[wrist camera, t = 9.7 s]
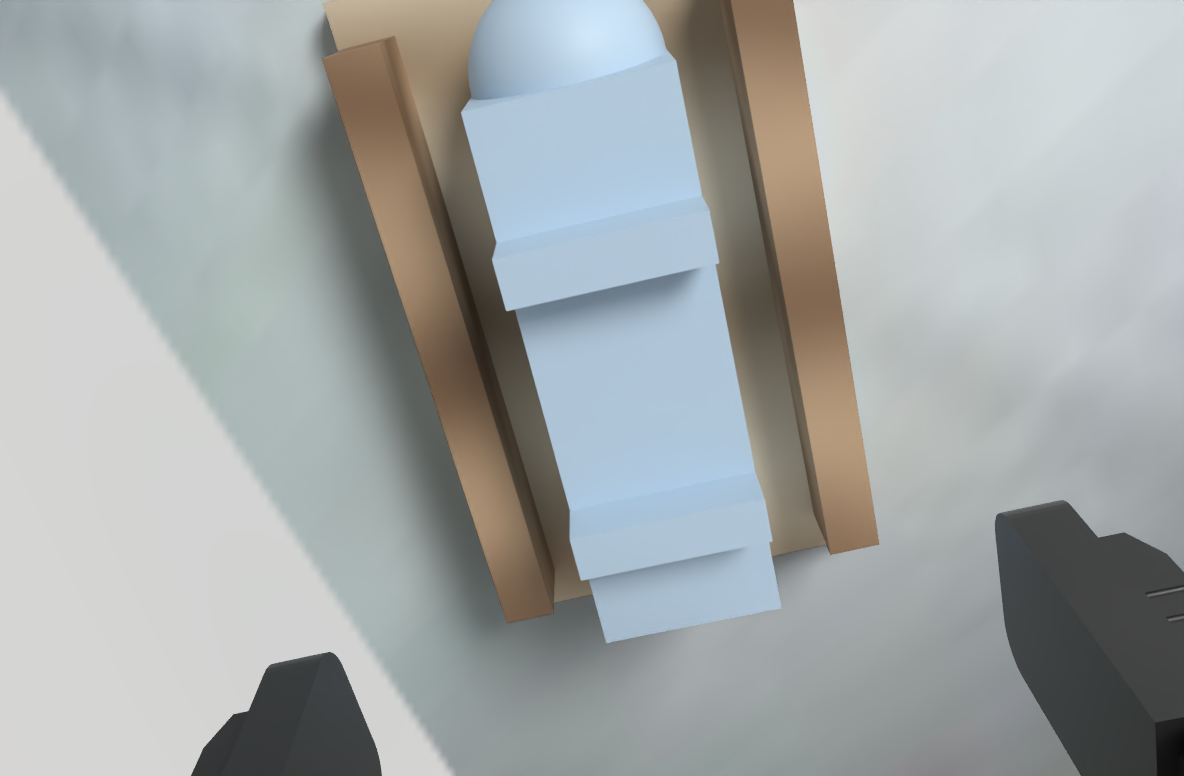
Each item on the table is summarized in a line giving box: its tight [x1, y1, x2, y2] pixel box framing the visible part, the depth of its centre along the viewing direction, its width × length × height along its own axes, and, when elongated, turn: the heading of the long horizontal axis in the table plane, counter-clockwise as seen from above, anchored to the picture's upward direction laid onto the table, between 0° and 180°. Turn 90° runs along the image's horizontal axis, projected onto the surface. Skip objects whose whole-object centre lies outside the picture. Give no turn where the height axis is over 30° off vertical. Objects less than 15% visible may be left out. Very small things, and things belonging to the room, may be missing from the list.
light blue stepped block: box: [461, 0, 782, 643], centre depth 23 cm, size 14×4×6 cm, turn 13°
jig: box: [322, 0, 879, 623], centre depth 25 cm, size 16×10×3 cm, turn 14°
